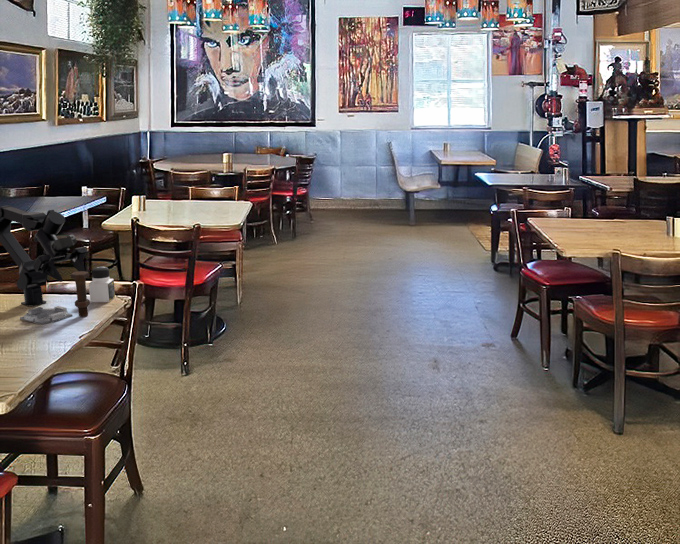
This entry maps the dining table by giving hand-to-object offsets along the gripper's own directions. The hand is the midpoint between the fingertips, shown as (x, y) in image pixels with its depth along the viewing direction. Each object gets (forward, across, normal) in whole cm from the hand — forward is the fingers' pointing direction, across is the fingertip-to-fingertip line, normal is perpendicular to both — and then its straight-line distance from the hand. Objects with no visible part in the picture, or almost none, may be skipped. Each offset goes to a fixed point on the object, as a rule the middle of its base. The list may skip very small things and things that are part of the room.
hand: (73, 278), depth 273 cm
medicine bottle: (+4, +17, +14) cm, 23 cm away
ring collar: (+5, -8, +12) cm, 16 cm away
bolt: (+12, 0, +6) cm, 13 cm away
